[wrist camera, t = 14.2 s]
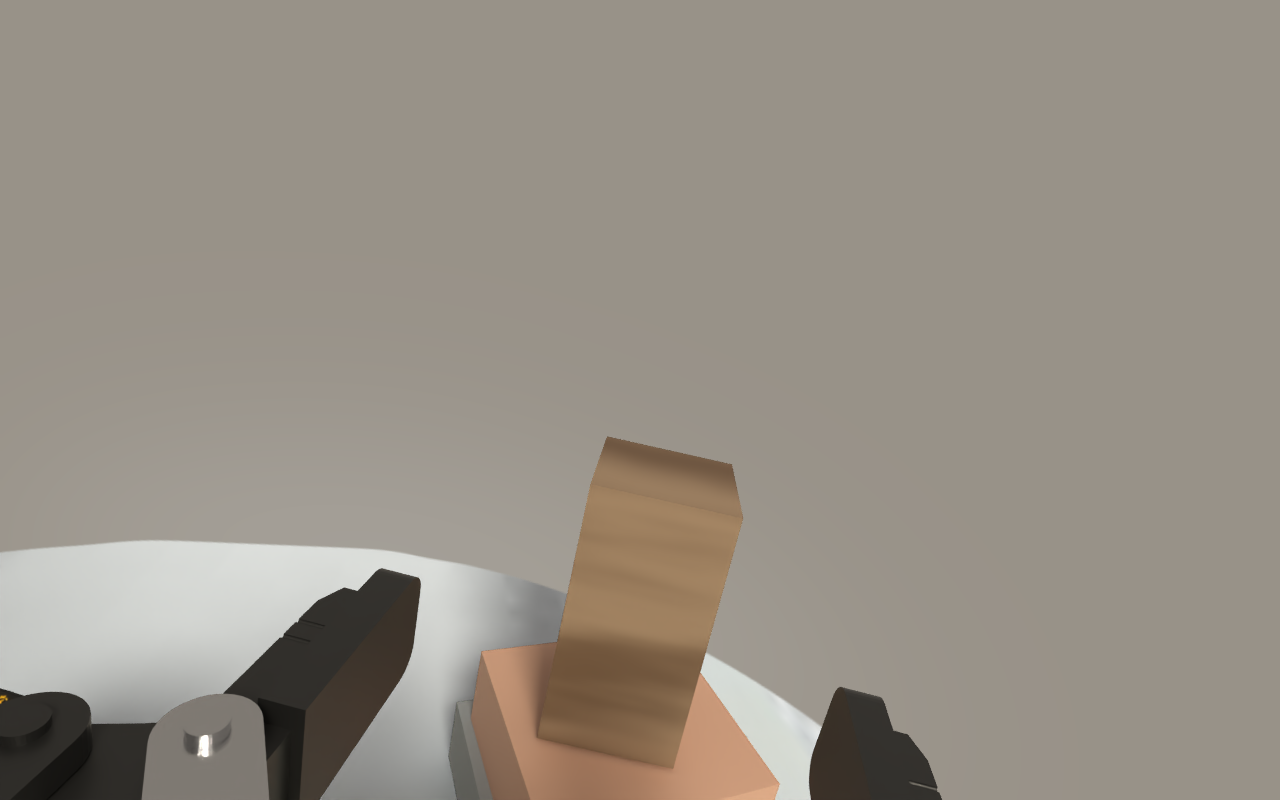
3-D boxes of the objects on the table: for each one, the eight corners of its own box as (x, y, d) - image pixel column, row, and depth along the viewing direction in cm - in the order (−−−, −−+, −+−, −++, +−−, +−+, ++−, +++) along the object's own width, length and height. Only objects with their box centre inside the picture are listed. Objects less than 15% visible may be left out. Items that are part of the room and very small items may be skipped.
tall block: (672, 768, 24) (742, 518, 22) (536, 738, 24) (590, 484, 22) (674, 678, 29) (731, 464, 26) (560, 652, 29) (607, 436, 26)
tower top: (528, 928, 22) (545, 846, 21) (470, 718, 29) (481, 651, 28) (755, 854, 26) (779, 784, 25) (653, 687, 33) (668, 628, 32)
